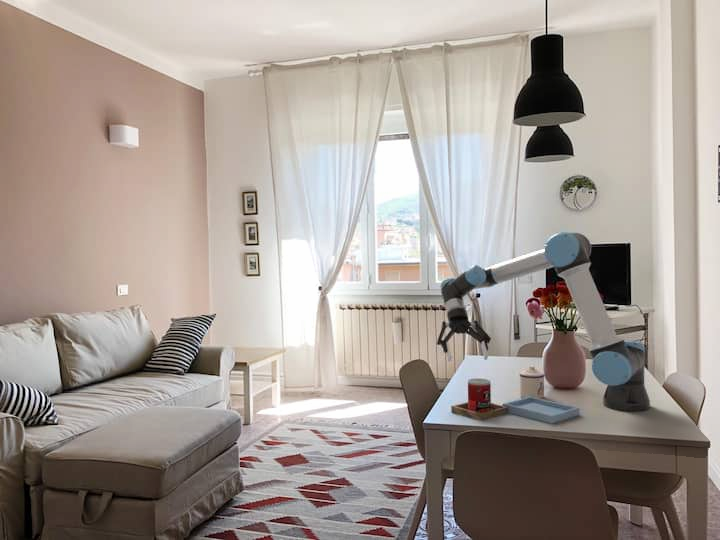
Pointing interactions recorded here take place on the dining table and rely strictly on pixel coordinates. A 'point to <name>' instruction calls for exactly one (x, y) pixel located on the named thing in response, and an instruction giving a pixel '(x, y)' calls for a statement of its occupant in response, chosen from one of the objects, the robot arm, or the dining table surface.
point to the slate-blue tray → (541, 409)
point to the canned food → (479, 395)
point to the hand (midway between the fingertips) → (468, 358)
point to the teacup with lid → (532, 383)
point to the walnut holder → (495, 411)
